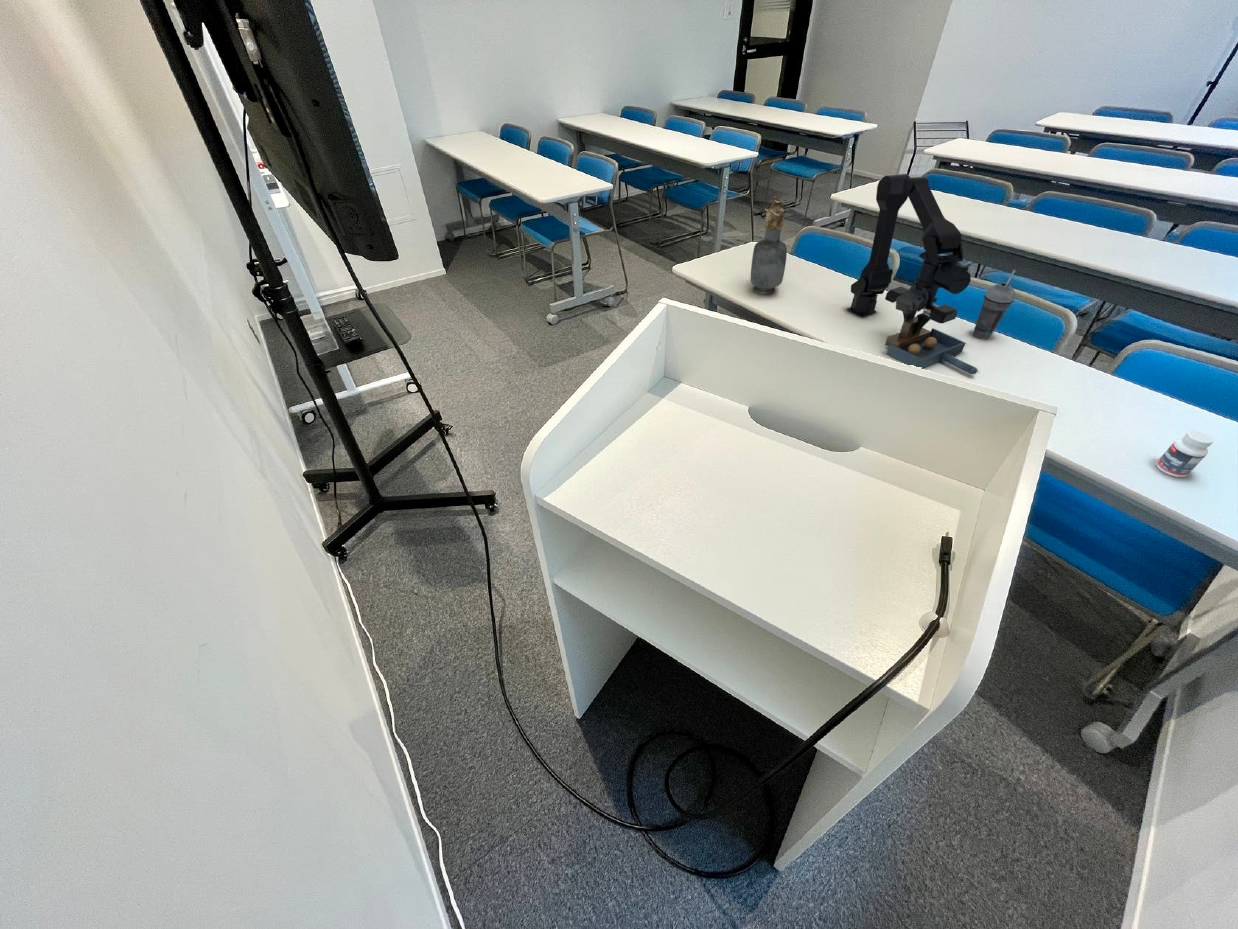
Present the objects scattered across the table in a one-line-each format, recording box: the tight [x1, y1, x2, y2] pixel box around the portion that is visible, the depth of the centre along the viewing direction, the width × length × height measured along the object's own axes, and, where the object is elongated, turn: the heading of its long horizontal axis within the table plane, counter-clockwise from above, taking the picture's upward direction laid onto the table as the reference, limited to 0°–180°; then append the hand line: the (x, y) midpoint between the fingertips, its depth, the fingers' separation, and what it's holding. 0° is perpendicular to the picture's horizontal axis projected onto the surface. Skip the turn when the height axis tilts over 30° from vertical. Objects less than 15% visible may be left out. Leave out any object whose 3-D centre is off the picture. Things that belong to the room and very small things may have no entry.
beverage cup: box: [972, 269, 1017, 340], centre depth 150 cm, size 7×7×20 cm
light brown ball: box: [908, 344, 921, 355], centre depth 148 cm, size 3×3×3 cm
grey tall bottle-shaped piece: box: [750, 195, 790, 296], centre depth 177 cm, size 11×19×30 cm, turn 169°
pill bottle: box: [1155, 430, 1215, 478], centre depth 108 cm, size 5×5×9 cm
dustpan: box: [886, 327, 978, 375], centre depth 145 cm, size 20×18×3 cm
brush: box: [884, 315, 931, 349], centre depth 151 cm, size 4×13×7 cm, turn 119°
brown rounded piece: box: [924, 337, 937, 349], centre depth 151 cm, size 3×3×3 cm
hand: (910, 332), depth 151 cm, fingers closed on brush, 2 cm apart
